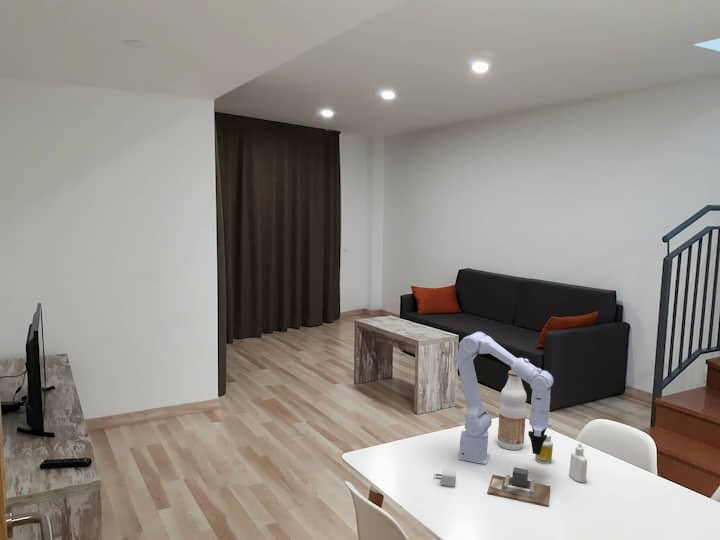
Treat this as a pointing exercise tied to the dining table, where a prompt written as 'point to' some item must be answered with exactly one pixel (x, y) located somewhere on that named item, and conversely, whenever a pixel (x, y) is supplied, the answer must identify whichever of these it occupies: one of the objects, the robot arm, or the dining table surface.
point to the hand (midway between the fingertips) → (537, 448)
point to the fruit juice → (512, 414)
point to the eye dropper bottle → (578, 465)
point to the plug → (520, 477)
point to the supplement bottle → (545, 451)
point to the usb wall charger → (447, 477)
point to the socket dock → (519, 490)
